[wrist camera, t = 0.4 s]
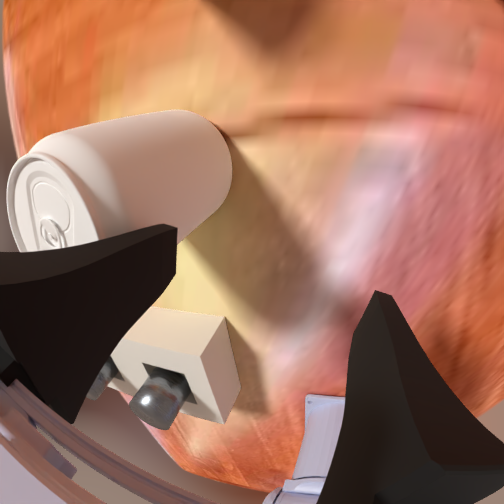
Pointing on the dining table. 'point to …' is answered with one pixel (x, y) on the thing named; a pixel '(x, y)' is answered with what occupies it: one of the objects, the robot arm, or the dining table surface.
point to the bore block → (181, 359)
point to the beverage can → (118, 180)
